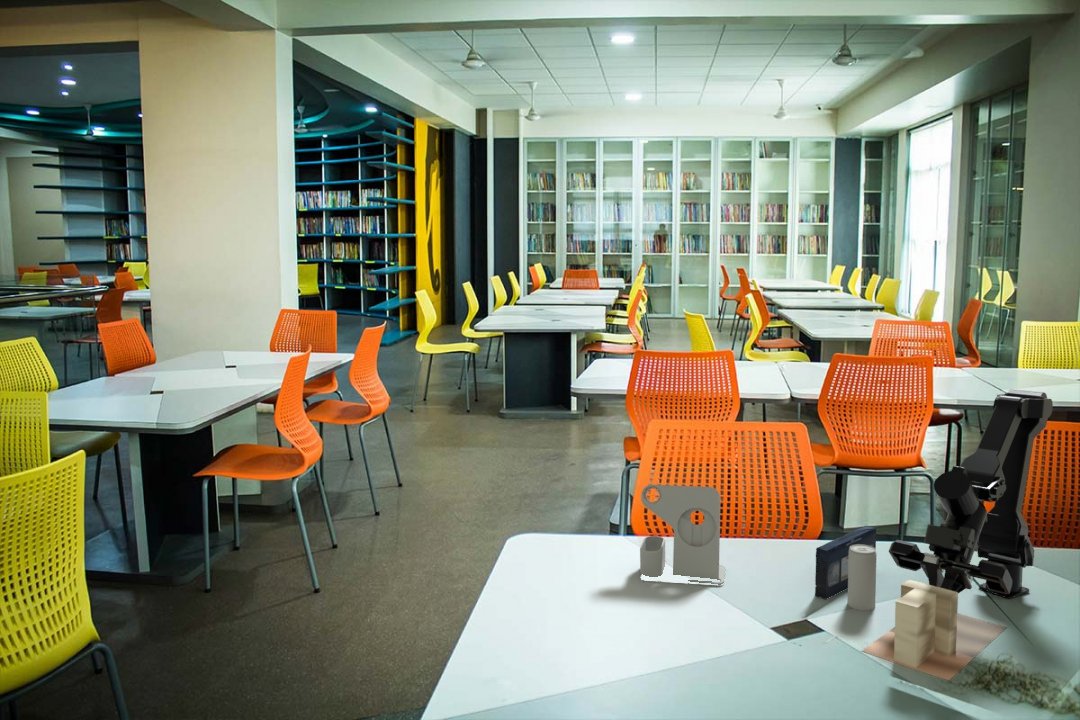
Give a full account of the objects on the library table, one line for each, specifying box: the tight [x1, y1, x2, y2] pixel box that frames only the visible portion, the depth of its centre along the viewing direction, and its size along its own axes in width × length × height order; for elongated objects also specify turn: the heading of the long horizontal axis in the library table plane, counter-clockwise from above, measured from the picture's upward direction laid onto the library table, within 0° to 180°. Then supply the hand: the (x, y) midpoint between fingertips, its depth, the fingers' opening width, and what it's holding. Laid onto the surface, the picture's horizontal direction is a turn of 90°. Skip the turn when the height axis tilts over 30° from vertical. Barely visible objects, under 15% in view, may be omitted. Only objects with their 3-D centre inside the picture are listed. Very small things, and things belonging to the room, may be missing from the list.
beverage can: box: [847, 544, 877, 611], centre depth 161 cm, size 5×5×12 cm
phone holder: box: [639, 484, 727, 585], centre depth 180 cm, size 17×10×18 cm, turn 75°
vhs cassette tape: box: [814, 525, 877, 600], centre depth 173 cm, size 18×3×10 cm, turn 129°
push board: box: [861, 612, 1008, 681], centre depth 147 cm, size 25×14×1 cm, turn 134°
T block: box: [894, 579, 959, 668], centre depth 141 cm, size 10×8×10 cm
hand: (932, 610), depth 145 cm, fingers closed, pressing on T block
